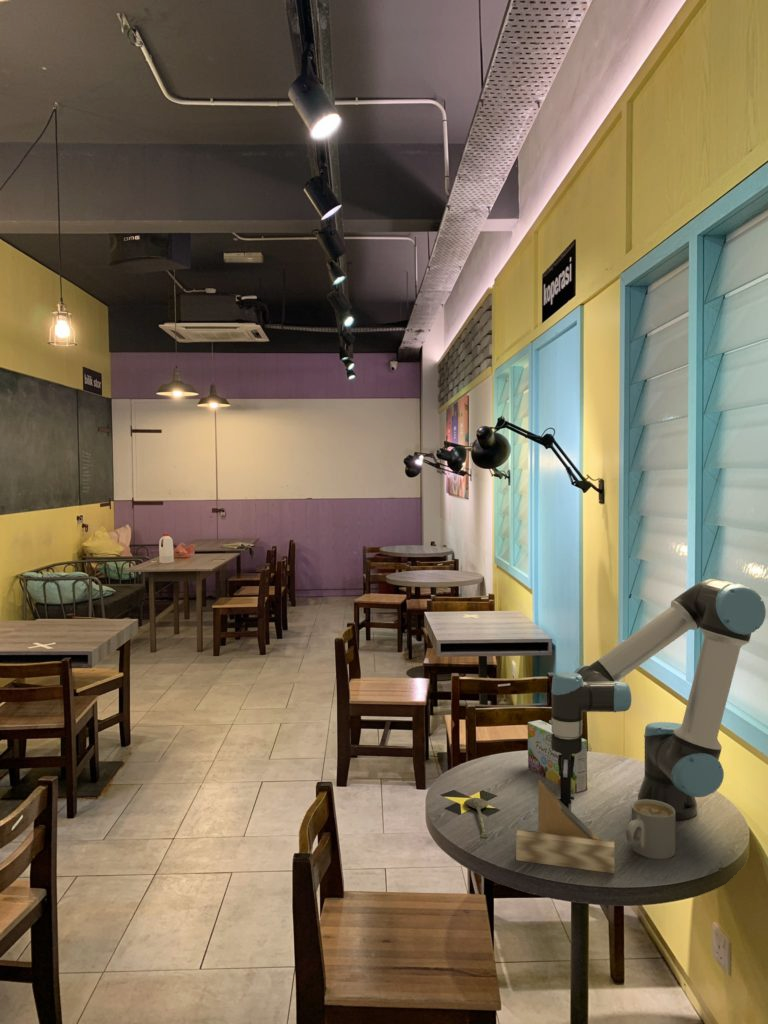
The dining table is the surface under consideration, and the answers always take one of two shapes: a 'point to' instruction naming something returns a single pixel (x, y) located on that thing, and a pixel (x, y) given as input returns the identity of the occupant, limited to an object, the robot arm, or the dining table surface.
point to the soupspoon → (478, 810)
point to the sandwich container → (558, 816)
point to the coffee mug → (652, 829)
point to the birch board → (565, 850)
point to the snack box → (553, 757)
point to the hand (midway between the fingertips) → (565, 826)
